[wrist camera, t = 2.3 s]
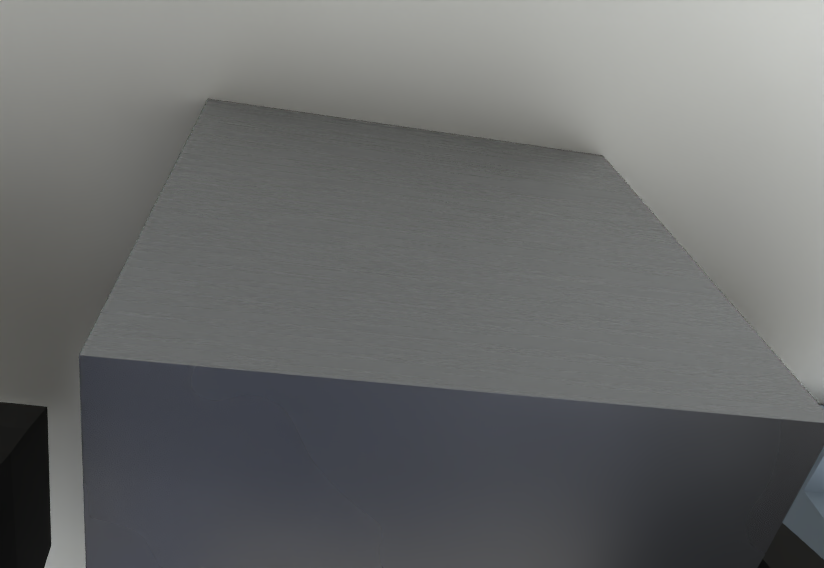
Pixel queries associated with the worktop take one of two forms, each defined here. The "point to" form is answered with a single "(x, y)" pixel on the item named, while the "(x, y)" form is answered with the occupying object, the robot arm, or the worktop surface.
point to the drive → (423, 366)
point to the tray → (810, 509)
